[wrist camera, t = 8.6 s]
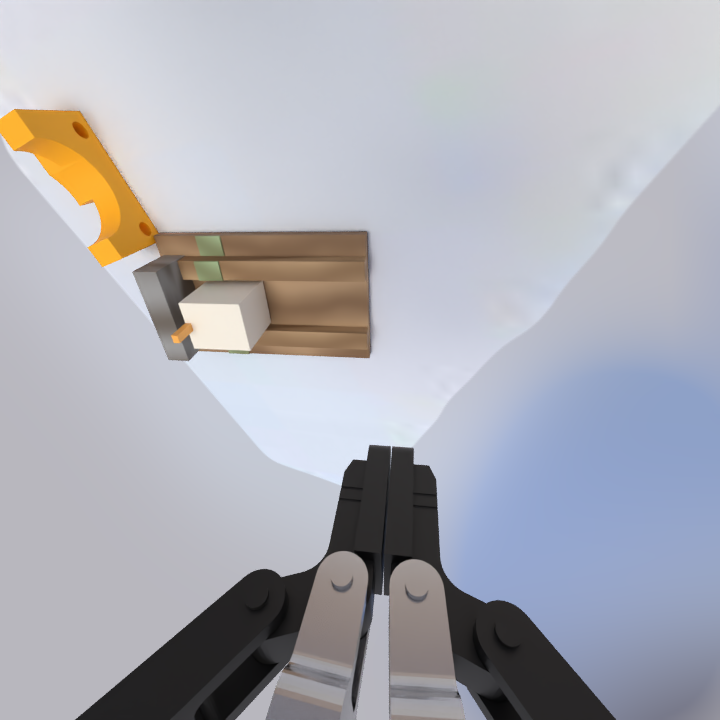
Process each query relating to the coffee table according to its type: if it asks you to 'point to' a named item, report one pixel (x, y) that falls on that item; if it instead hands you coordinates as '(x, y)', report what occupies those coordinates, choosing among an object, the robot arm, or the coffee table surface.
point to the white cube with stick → (224, 315)
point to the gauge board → (268, 287)
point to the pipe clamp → (83, 176)
